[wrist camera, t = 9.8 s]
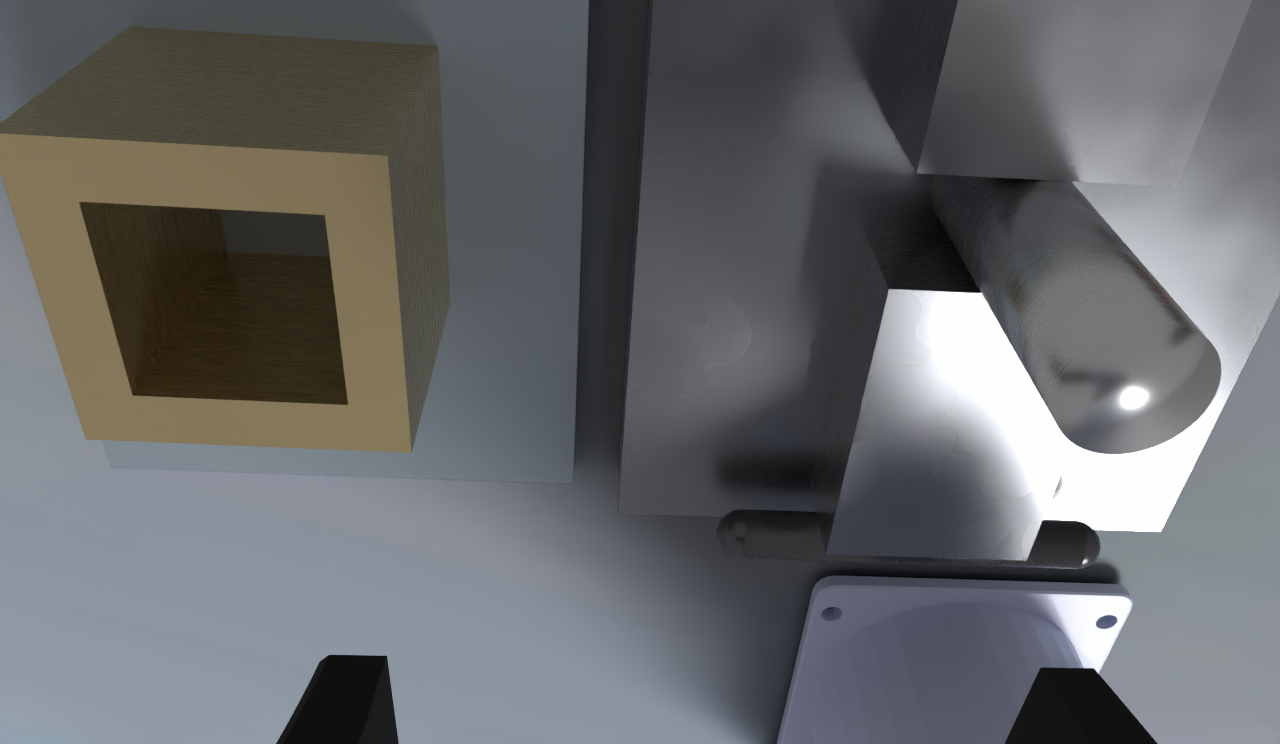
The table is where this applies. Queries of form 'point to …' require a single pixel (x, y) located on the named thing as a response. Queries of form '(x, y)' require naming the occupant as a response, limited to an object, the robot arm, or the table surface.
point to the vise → (944, 269)
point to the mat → (475, 214)
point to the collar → (195, 244)
